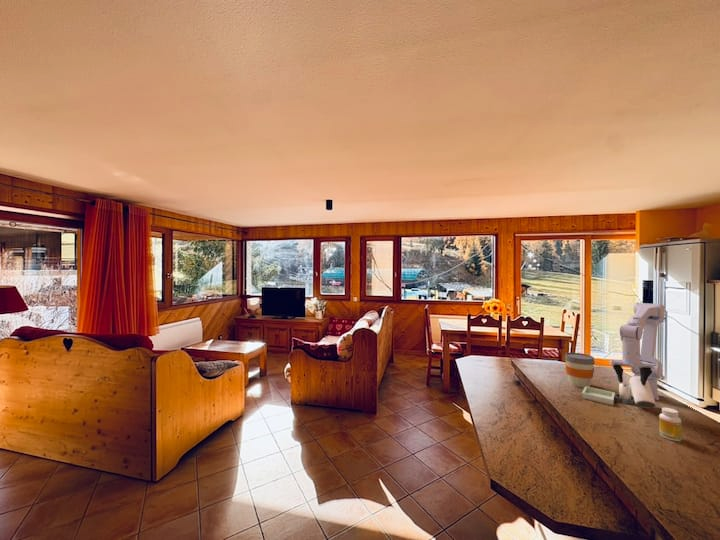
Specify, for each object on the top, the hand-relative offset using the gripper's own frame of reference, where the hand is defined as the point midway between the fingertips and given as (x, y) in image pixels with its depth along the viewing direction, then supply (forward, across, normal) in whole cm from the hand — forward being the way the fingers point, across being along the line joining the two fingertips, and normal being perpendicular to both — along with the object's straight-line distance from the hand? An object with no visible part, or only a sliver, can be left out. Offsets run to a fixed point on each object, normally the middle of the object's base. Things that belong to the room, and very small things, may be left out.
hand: (631, 383), depth 127 cm
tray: (+10, -11, +4) cm, 15 cm away
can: (+8, +3, -4) cm, 9 cm away
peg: (+10, -1, +5) cm, 11 cm away
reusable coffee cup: (+10, -14, +20) cm, 26 cm away
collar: (+10, -1, +5) cm, 11 cm away
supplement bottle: (+10, +1, -26) cm, 28 cm away
